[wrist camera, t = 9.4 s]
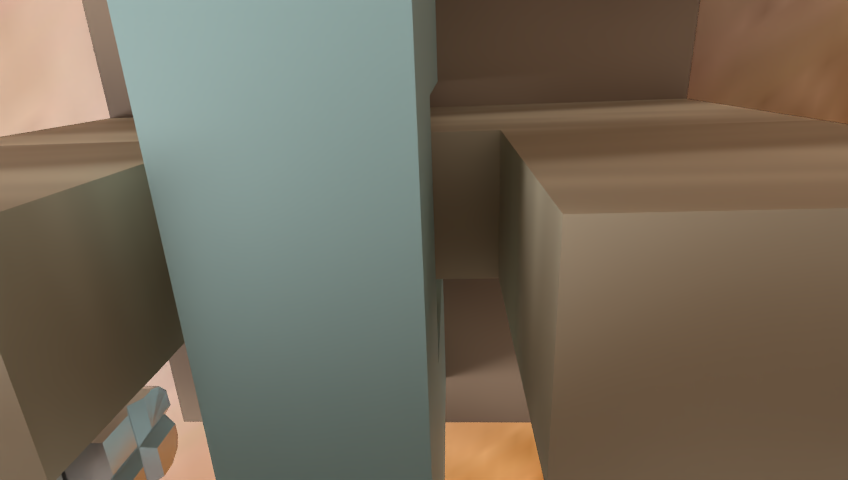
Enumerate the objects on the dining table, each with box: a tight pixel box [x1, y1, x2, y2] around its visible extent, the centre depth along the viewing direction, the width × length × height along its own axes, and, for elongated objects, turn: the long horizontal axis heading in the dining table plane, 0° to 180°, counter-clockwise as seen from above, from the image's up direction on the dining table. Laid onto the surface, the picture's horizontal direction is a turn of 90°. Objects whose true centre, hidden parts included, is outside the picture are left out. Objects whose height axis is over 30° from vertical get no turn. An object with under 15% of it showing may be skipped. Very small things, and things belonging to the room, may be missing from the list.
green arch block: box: [107, 0, 446, 480], centre depth 9 cm, size 12×2×8 cm, turn 2°
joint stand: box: [0, 0, 848, 480], centre depth 9 cm, size 16×14×10 cm
